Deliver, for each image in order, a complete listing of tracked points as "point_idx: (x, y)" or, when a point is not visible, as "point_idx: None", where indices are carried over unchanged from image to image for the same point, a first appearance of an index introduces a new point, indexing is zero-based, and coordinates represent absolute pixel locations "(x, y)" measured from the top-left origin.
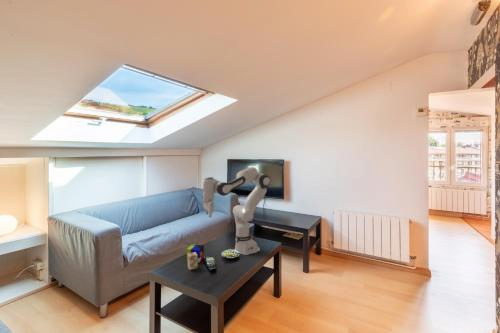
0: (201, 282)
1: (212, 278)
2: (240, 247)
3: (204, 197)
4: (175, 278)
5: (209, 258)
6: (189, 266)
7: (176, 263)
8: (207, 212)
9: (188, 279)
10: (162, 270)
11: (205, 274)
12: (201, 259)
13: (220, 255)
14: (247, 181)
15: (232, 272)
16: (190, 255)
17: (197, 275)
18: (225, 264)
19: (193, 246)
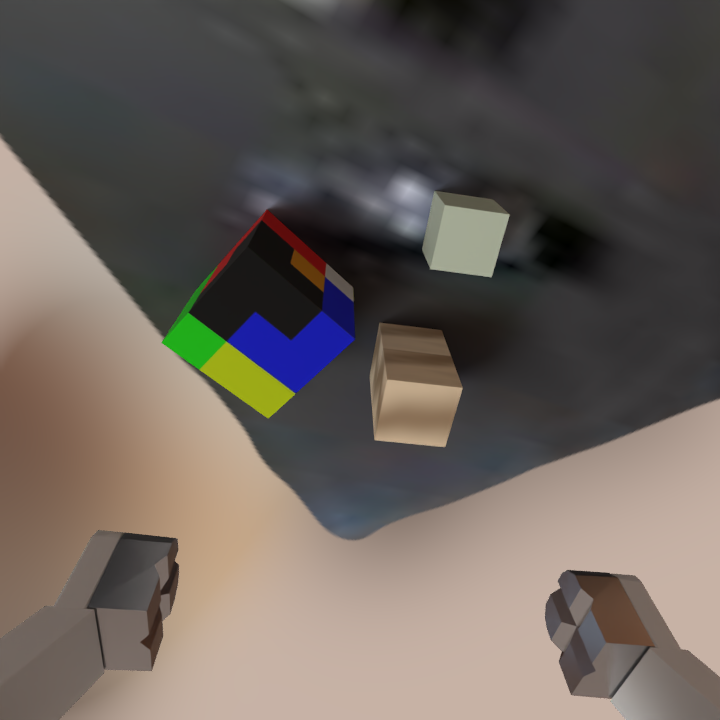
0: (638, 373)
1: (653, 298)
2: None
3: None
4: (482, 472)
5: (455, 244)
6: None
7: (281, 422)
8: (151, 626)
9: (546, 421)
10: (339, 503)
11: (567, 316)
12: (309, 248)
13: (308, 19)
14: None
15: (711, 110)
16: (432, 434)
17: (540, 364)
18: (537, 86)
19: (231, 351)
